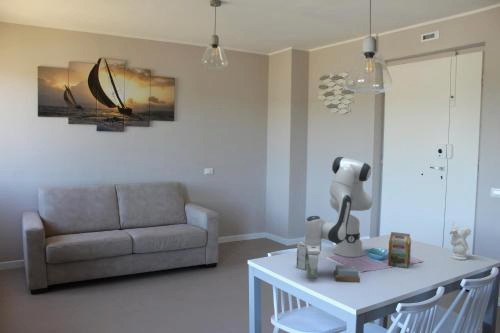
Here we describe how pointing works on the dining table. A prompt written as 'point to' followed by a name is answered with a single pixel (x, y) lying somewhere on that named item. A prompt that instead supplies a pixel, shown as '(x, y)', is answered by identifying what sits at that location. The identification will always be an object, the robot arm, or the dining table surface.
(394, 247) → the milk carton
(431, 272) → the dining table surface
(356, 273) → the grey top slab
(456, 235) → the white squirrel figurine
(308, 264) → the sage block
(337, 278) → the walnut base slab
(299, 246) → the syrup box
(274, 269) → the dining table surface
